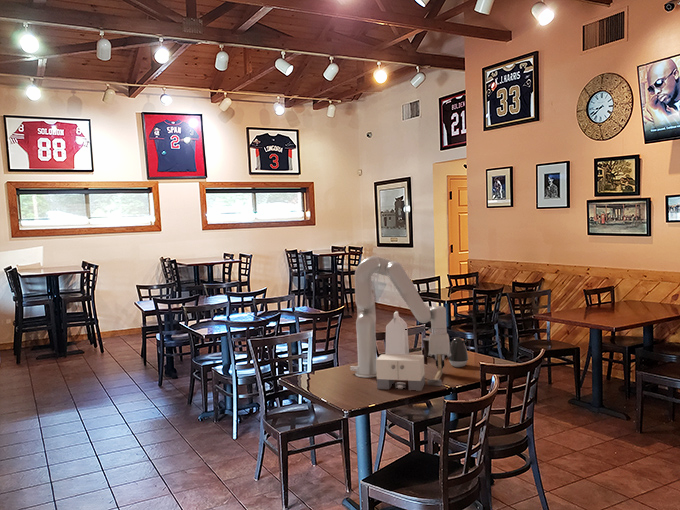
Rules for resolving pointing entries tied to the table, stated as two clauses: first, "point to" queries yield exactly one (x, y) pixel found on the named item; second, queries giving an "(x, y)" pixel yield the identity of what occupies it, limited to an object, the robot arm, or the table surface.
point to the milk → (397, 336)
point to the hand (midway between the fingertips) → (440, 367)
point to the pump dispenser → (458, 353)
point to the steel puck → (400, 385)
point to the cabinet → (400, 370)
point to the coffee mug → (426, 347)
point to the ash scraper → (440, 371)
